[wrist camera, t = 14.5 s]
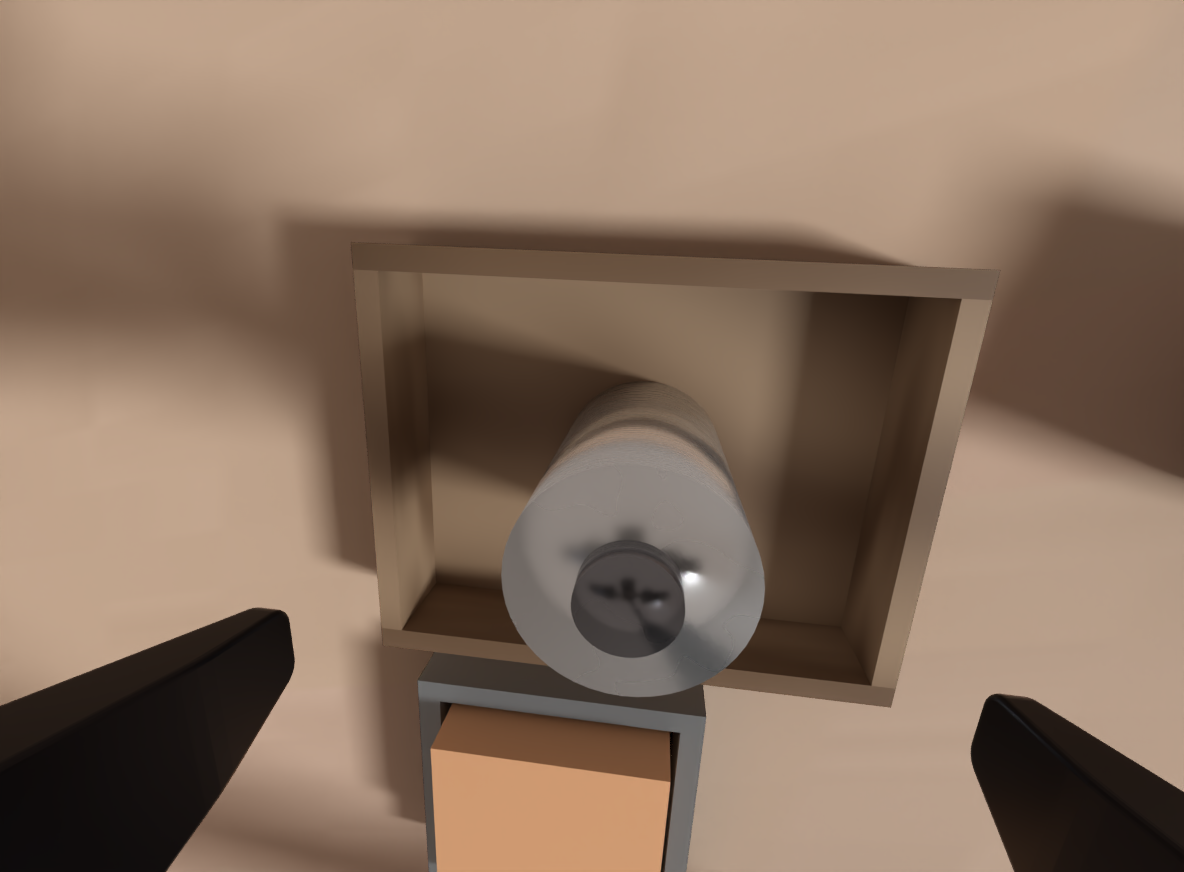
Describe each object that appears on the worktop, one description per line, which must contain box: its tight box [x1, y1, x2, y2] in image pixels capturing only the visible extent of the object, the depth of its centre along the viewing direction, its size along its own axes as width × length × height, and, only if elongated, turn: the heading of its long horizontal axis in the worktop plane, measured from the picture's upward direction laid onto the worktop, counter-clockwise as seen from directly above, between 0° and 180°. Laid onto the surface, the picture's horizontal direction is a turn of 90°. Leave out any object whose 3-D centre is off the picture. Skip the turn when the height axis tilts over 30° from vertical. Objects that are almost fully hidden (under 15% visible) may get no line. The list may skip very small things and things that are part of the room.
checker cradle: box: [418, 652, 706, 872], centre depth 19 cm, size 9×9×2 cm
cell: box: [501, 381, 765, 697], centre depth 12 cm, size 4×4×8 cm
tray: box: [351, 242, 1000, 707], centre depth 15 cm, size 11×14×3 cm
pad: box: [431, 703, 671, 872], centre depth 18 cm, size 7×7×2 cm
